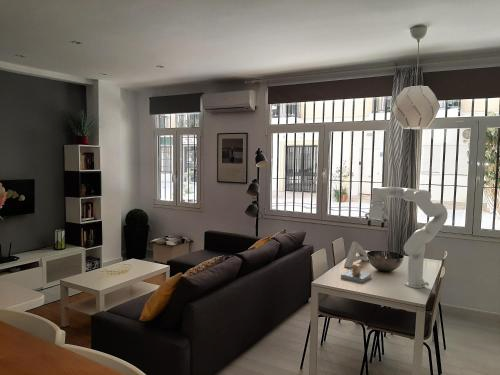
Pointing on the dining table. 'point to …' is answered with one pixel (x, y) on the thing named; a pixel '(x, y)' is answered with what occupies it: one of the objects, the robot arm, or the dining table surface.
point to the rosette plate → (355, 278)
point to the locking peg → (356, 269)
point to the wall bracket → (352, 254)
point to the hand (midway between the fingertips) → (375, 226)
